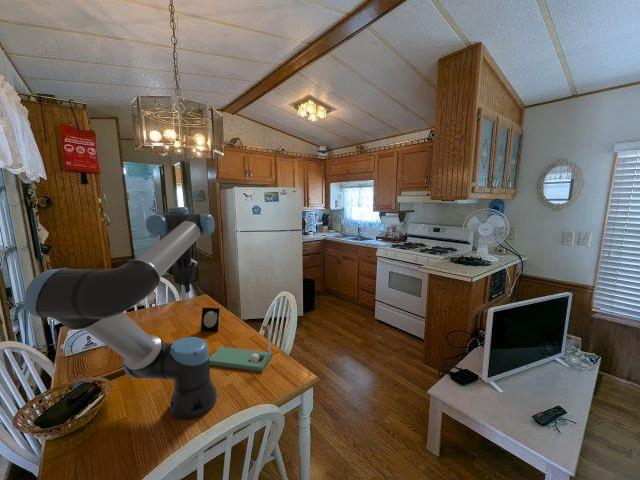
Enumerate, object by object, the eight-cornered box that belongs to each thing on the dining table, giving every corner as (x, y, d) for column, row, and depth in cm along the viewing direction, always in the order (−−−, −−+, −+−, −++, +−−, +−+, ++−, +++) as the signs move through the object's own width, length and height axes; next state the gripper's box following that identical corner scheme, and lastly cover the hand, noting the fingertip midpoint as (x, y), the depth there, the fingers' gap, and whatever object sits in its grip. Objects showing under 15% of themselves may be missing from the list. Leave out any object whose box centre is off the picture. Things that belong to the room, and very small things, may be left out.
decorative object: (207, 328, 158) (223, 329, 157) (197, 332, 147) (215, 333, 146) (209, 305, 159) (225, 306, 158) (199, 308, 149) (217, 308, 148)
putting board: (262, 371, 116) (261, 336, 113) (207, 364, 121) (205, 330, 118) (272, 356, 126) (271, 324, 124) (221, 350, 131) (219, 319, 129)
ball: (258, 364, 119) (253, 356, 119) (251, 366, 121) (246, 358, 120) (262, 358, 123) (258, 350, 123) (255, 360, 124) (251, 353, 124)
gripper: (201, 243, 114) (205, 297, 118) (174, 242, 117) (178, 295, 121) (189, 247, 107) (193, 303, 111) (160, 245, 109) (166, 301, 113)
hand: (185, 299), depth 116 cm, fingers closed
